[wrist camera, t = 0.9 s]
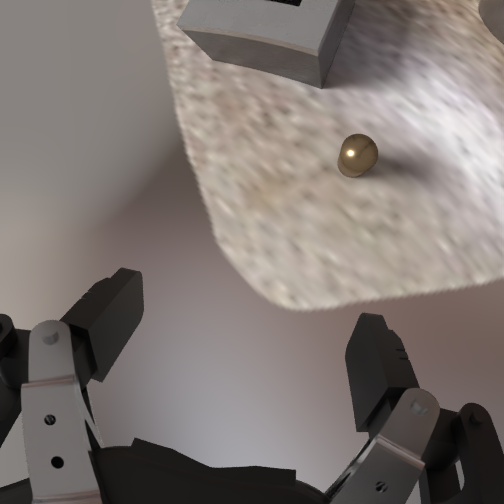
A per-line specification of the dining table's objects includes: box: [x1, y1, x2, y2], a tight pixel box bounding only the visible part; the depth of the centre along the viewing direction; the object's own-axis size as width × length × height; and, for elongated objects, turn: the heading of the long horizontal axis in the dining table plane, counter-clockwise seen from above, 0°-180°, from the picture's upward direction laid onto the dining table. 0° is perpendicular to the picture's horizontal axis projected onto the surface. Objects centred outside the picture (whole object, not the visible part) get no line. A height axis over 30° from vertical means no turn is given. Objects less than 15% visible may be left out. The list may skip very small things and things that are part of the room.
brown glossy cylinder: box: [338, 134, 378, 178], centre depth 26 cm, size 3×3×9 cm
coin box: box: [176, 0, 355, 89], centre depth 24 cm, size 14×14×10 cm
